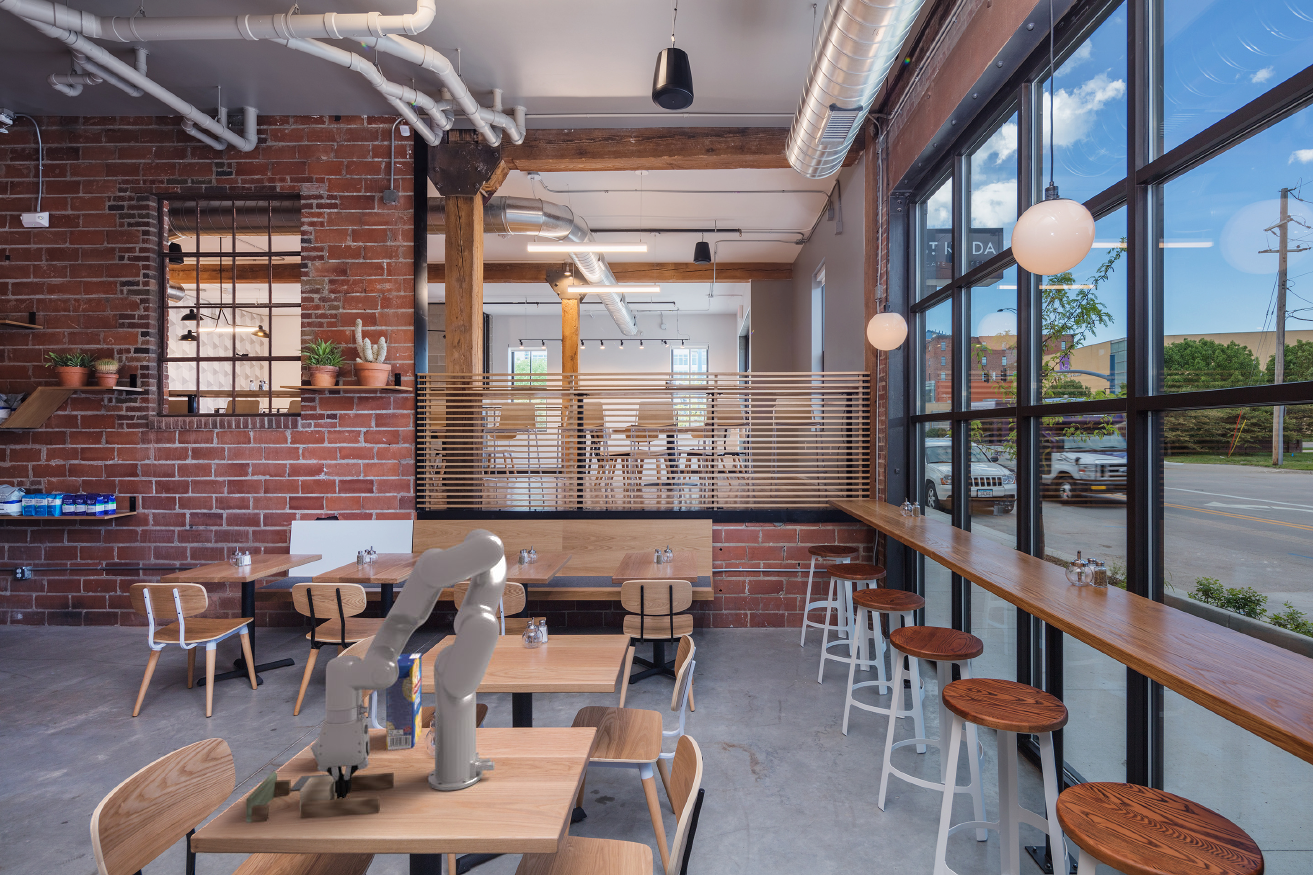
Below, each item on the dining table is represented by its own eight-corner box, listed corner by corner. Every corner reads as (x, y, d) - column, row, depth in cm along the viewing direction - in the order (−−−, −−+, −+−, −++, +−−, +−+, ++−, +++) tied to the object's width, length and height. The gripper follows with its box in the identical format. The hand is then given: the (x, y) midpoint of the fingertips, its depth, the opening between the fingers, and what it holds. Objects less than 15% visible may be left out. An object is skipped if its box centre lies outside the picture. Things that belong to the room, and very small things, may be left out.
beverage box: (421, 731, 185) (421, 652, 186) (413, 748, 174) (413, 664, 175) (396, 732, 184) (396, 654, 185) (386, 750, 173) (386, 666, 174)
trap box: (393, 785, 154) (393, 763, 155) (378, 812, 143) (378, 789, 143) (272, 793, 151) (272, 771, 151) (246, 822, 139) (246, 798, 139)
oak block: (337, 795, 150) (337, 775, 150) (328, 809, 144) (328, 788, 145) (309, 797, 149) (310, 777, 150) (299, 811, 144) (299, 790, 144)
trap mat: (336, 774, 160) (336, 773, 160) (325, 788, 153) (325, 787, 153) (301, 777, 159) (301, 776, 159) (289, 790, 152) (289, 789, 152)
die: (324, 777, 160) (351, 738, 164) (296, 756, 162) (324, 718, 165) (339, 774, 168) (365, 737, 171) (313, 754, 170) (339, 718, 173)
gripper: (383, 705, 153) (382, 784, 152) (315, 708, 151) (314, 789, 150) (373, 717, 145) (372, 801, 145) (302, 721, 143) (301, 806, 143)
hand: (343, 795), depth 147 cm, fingers closed
